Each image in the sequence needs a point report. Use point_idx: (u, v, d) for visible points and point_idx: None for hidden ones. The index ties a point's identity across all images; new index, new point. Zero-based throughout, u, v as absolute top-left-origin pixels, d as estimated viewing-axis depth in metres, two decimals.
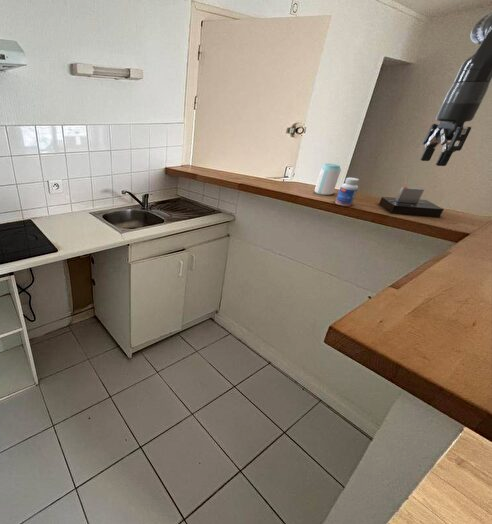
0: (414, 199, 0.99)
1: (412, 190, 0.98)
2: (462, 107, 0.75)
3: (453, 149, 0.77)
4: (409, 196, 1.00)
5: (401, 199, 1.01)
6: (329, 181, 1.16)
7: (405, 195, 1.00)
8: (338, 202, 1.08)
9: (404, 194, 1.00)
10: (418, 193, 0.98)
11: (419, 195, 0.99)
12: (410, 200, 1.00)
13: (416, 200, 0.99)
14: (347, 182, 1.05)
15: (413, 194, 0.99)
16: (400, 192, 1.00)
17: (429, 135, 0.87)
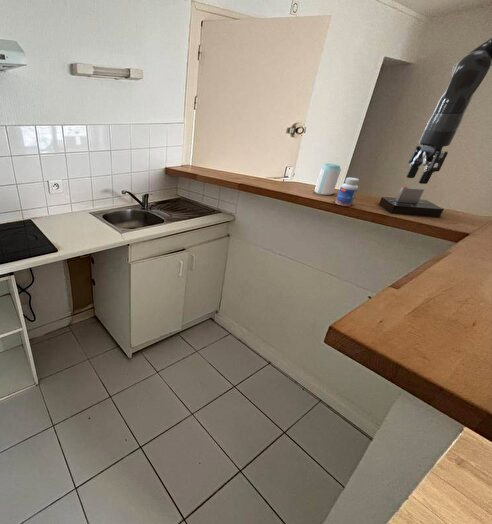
0: (414, 199, 0.99)
1: (412, 190, 0.98)
2: (440, 134, 0.88)
3: (433, 170, 0.89)
4: (409, 196, 1.00)
5: (401, 199, 1.01)
6: (329, 181, 1.16)
7: (405, 195, 1.00)
8: (338, 202, 1.08)
9: (404, 194, 1.00)
10: (418, 193, 0.98)
11: (419, 195, 0.99)
12: (410, 200, 1.00)
13: (416, 200, 0.99)
14: (347, 182, 1.05)
15: (413, 194, 0.99)
16: (400, 192, 1.00)
17: (414, 156, 0.99)
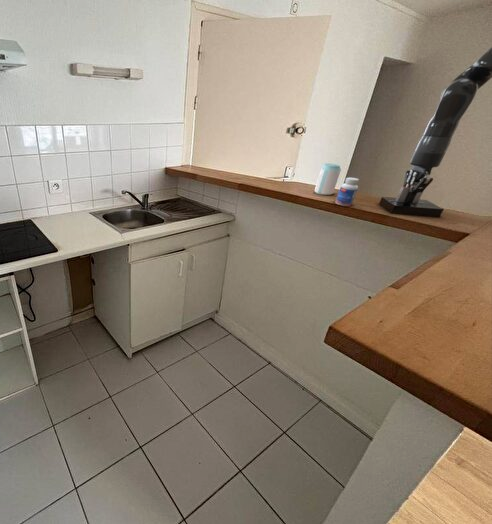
0: (414, 199, 0.99)
1: None
2: (429, 156, 0.91)
3: (416, 191, 0.96)
4: None
5: (401, 199, 1.01)
6: (329, 181, 1.16)
7: (405, 195, 1.00)
8: (338, 202, 1.08)
9: (404, 194, 1.00)
10: (418, 193, 0.98)
11: (419, 195, 0.98)
12: None
13: (416, 200, 0.99)
14: (347, 182, 1.05)
15: None
16: (400, 192, 1.00)
17: (407, 178, 1.01)
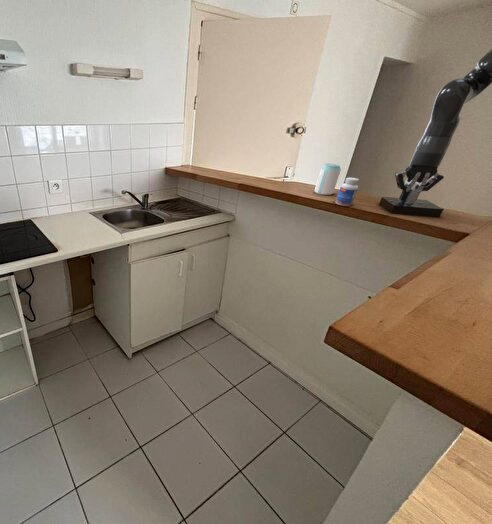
0: (407, 199, 0.99)
1: None
2: (414, 153, 0.95)
3: (398, 187, 1.00)
4: None
5: None
6: (329, 181, 1.16)
7: None
8: (338, 202, 1.08)
9: None
10: (410, 193, 0.98)
11: (410, 195, 0.98)
12: None
13: (407, 200, 0.99)
14: (347, 182, 1.05)
15: None
16: None
17: (428, 181, 0.97)
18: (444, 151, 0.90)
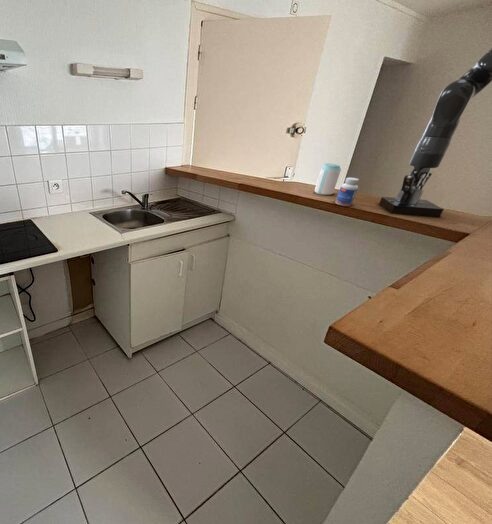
0: (412, 199, 0.99)
1: None
2: (419, 155, 0.93)
3: (404, 190, 0.97)
4: None
5: (399, 198, 1.02)
6: (329, 181, 1.16)
7: None
8: (338, 202, 1.08)
9: (402, 193, 1.01)
10: (416, 193, 0.98)
11: (416, 196, 0.98)
12: None
13: (413, 201, 0.99)
14: (347, 182, 1.05)
15: None
16: None
17: None
18: None
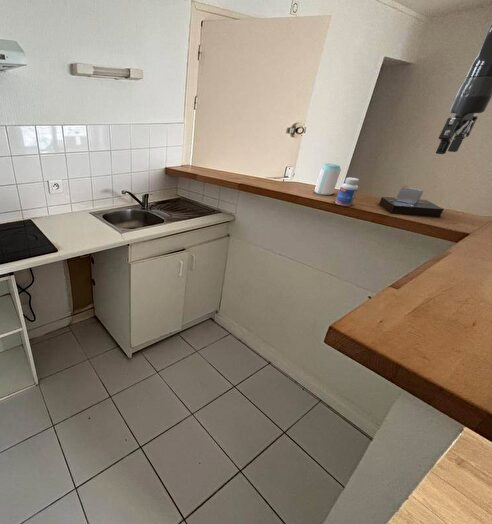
0: (412, 199, 0.99)
1: (409, 190, 0.99)
2: (461, 100, 0.84)
3: (442, 138, 0.87)
4: (406, 196, 1.00)
5: (399, 198, 1.02)
6: (329, 181, 1.16)
7: (403, 194, 1.01)
8: (338, 202, 1.08)
9: (402, 193, 1.01)
10: (416, 193, 0.98)
11: (416, 196, 0.98)
12: (407, 200, 1.00)
13: (413, 201, 0.99)
14: (347, 182, 1.05)
15: (410, 194, 0.99)
16: None
17: None
18: None
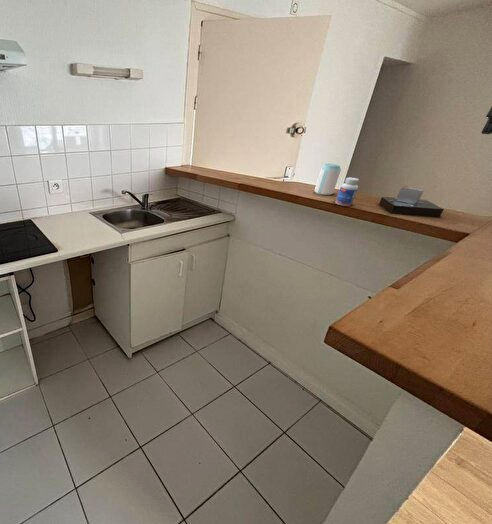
0: (412, 199, 0.99)
1: (409, 190, 0.99)
2: None
3: (490, 116, 0.81)
4: (406, 196, 1.00)
5: (399, 198, 1.02)
6: (329, 181, 1.16)
7: (403, 194, 1.01)
8: (338, 202, 1.08)
9: (402, 193, 1.01)
10: (416, 193, 0.98)
11: (416, 196, 0.98)
12: (407, 200, 1.00)
13: (413, 201, 0.99)
14: (347, 182, 1.05)
15: (410, 194, 0.99)
16: None
17: None
18: None
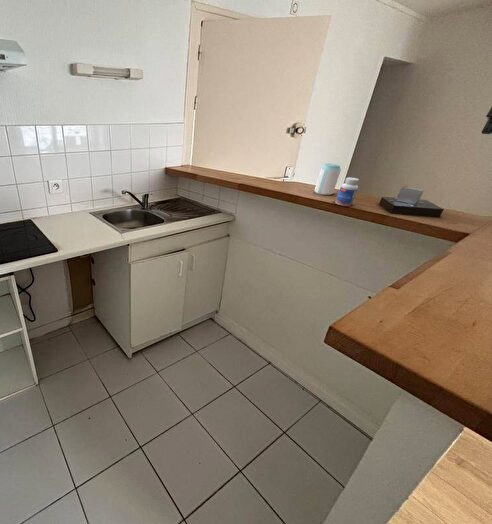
0: (412, 199, 0.99)
1: (409, 190, 0.99)
2: None
3: (490, 116, 0.81)
4: (406, 196, 1.00)
5: (399, 198, 1.02)
6: (329, 181, 1.16)
7: (403, 194, 1.01)
8: (338, 202, 1.08)
9: (402, 193, 1.01)
10: (416, 193, 0.98)
11: (416, 196, 0.98)
12: (407, 200, 1.00)
13: (413, 201, 0.99)
14: (347, 182, 1.05)
15: (410, 194, 0.99)
16: None
17: None
18: None
